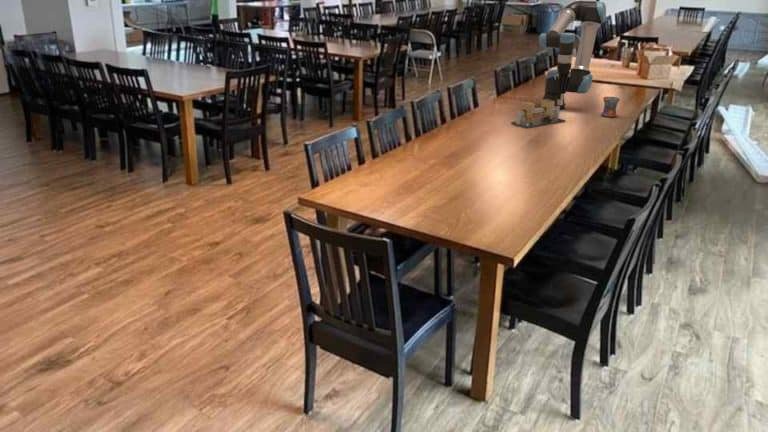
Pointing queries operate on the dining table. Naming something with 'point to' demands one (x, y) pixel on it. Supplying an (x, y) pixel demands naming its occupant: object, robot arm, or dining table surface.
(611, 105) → the mug
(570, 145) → the dining table surface
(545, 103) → the block
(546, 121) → the hole plate
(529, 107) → the dividers bar
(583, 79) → the robot arm
